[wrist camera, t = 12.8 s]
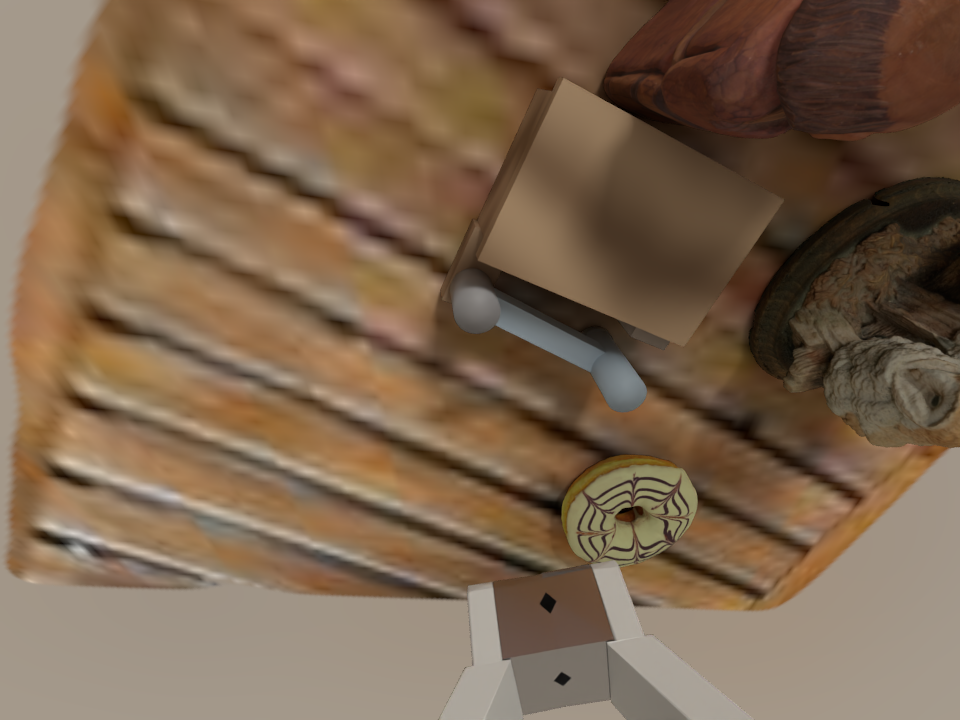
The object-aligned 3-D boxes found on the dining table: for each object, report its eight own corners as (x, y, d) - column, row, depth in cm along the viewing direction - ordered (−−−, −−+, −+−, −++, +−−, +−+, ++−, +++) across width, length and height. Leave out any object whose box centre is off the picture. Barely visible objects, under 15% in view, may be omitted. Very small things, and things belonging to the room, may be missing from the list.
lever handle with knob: (441, 286, 35) (446, 332, 29) (460, 251, 34) (470, 291, 28) (596, 364, 39) (629, 419, 33) (618, 335, 38) (656, 386, 32)
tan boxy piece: (533, 75, 30) (563, 78, 24) (718, 175, 34) (784, 199, 28) (437, 288, 36) (442, 335, 29) (606, 355, 39) (641, 409, 33)
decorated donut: (680, 529, 49) (699, 563, 45) (560, 549, 48) (571, 585, 45) (686, 435, 44) (708, 466, 40) (553, 457, 43) (564, 490, 40)
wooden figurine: (644, 160, 33) (852, 247, 17) (580, 72, 31) (756, 83, 15) (819, 1, 30) (1262, -66, 14) (763, -111, 28) (1231, -343, 12)
